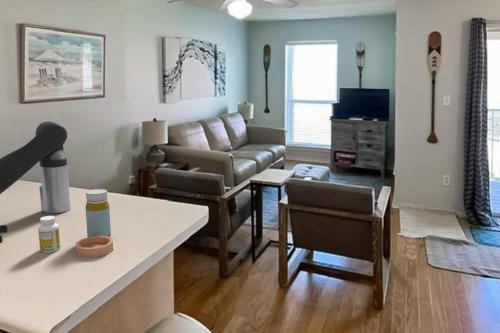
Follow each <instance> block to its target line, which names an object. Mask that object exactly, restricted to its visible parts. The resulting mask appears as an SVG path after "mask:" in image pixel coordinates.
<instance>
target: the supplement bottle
mask: <svg viewBox="0 0 500 333" xmlns="http://www.w3.org/2000/svg"><path fill="white" fill-rule="evenodd" d="M56 220H57V219H56V216H55V215H47V216H42V217H40V218H39V223H40V225H39V226H38V227H37V230H38V240H39V241H38V242H39V250H40V252H42V253H48V254H49V253H54V252H55V253H56V252H58V251H59V250H60V249H61V240H60V227H59V224H58V223H56Z"/></svg>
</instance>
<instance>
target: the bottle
mask: <svg viewBox="0 0 500 333" xmlns="http://www.w3.org/2000/svg"><path fill="white" fill-rule="evenodd" d="M85 197H86V198H85V200H86V203H85V218H86V219H85V221H86V236H87V237H93V236H107V237H110V238H111V235H112V229H111V227H112V225H111V214H110V213H111V211H110V210H111V209H110V203H109V201H108V190H107V189H104V188H95V189H89V190H87V191H85Z"/></svg>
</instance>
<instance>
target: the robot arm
mask: <svg viewBox="0 0 500 333" xmlns="http://www.w3.org/2000/svg"><path fill="white" fill-rule="evenodd" d="M35 130H36V131H35V136H34V137H32V139H30V140H29V142H27V143H26V144H25V145H23V146H21V147H20V148H18V149H16V150H13V151H12V152H10V153H8V154H6V155H4V156H3V157H0V195H1V194H2V193H4V192H5V191H7V190H8V189H9V188H10V187H12V186H13V185H14V184H15V183H16V182H17V181H19V180H20V179H21V178H22V177H23V176H24V175H25V174H27V173H28V172H29V171H30V170H31V169H32V168H34V167H35V165H37V164H38V163H39V169H40V170H39V171H40V179H41V185H40V186H39V189H38V190H39V197H40V209H41V212H44V213H46V214H61V213H65V212H68V211H70V210H71V197H70V195H71V194H70V186H69V185H70V184H69V183H70V182H69V173H68V172H69V169H68V158H67V156H66V153H65V150H64V144H65V143H66V141H67V139H68V131H67V129H66V127H65V126H63V125H61V124H60V123H57V122H54V121H44V122H42V123H40V124H39V125H38V126H37V127H36V129H35ZM8 231H9V229H8V225H7V224H2V225H0V244H2V243H3V235H1V234H6V233H8Z"/></svg>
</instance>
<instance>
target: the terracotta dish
mask: <svg viewBox="0 0 500 333" xmlns="http://www.w3.org/2000/svg"><path fill="white" fill-rule="evenodd" d="M75 250H76V251H75V253H76V255H77V256H79V257H81V258H96V257H102V256H105V255H108V254H110V253H112V252H113V251H114V241H113V238H112V237H111V236H110V237H107V236H93V237H88V236H87V237H85V238H82V239H80V240H78V241H76V242H75Z"/></svg>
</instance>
